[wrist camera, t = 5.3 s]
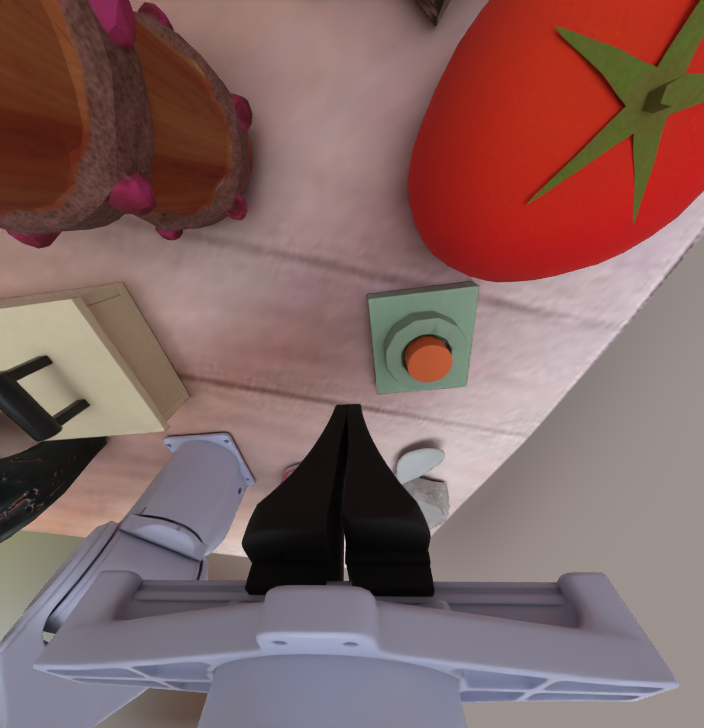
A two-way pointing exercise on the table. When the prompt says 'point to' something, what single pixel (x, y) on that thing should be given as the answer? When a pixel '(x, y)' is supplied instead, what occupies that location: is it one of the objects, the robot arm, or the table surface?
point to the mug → (112, 123)
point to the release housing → (422, 332)
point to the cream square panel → (68, 375)
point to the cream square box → (126, 339)
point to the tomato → (561, 135)
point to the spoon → (418, 463)
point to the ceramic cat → (40, 478)
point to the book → (433, 8)
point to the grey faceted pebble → (430, 499)
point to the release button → (428, 359)
